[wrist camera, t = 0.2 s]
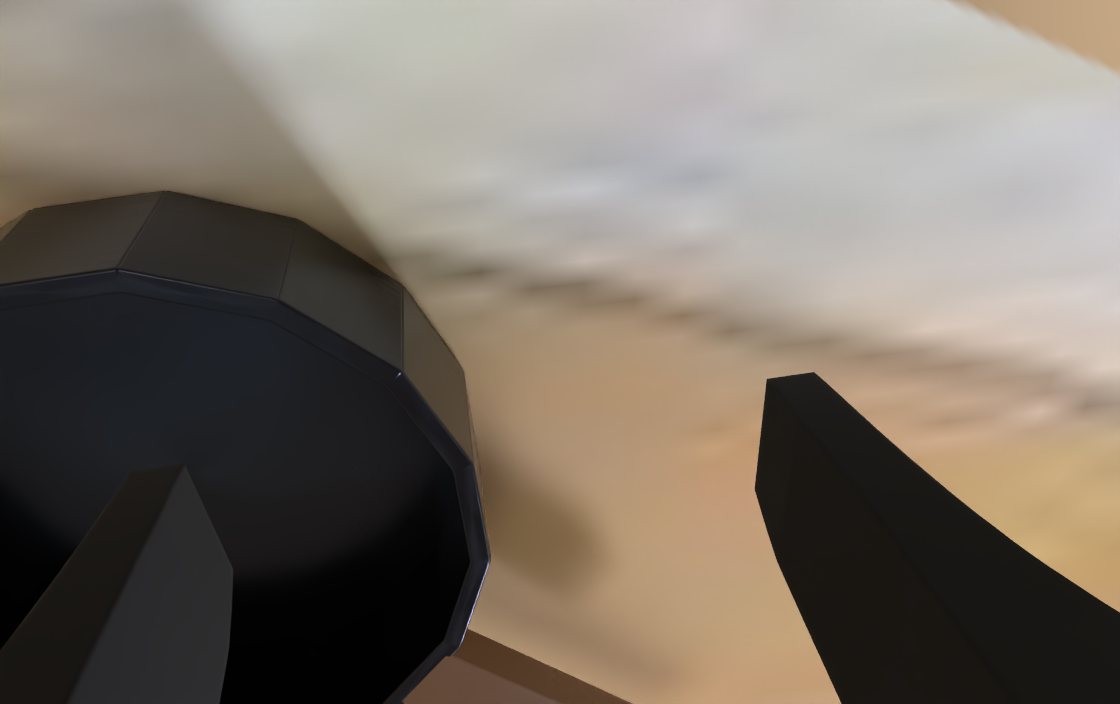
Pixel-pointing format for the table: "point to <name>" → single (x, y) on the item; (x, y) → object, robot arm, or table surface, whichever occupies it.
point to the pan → (256, 444)
